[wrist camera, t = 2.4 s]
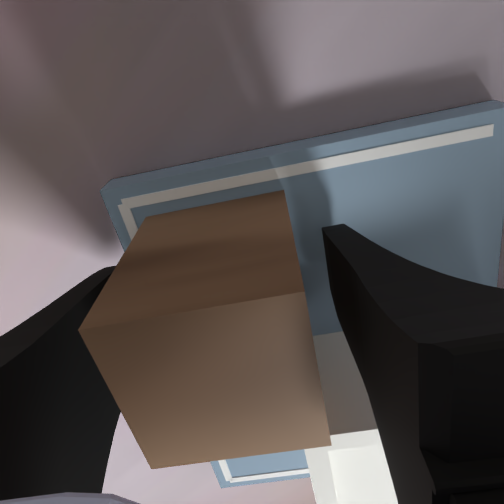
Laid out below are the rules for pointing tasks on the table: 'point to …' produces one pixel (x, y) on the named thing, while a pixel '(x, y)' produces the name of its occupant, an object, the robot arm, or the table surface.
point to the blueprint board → (367, 224)
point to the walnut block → (211, 336)
